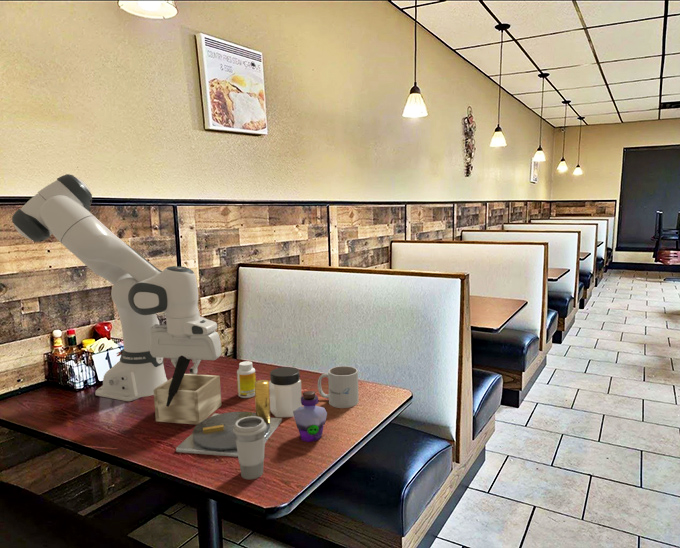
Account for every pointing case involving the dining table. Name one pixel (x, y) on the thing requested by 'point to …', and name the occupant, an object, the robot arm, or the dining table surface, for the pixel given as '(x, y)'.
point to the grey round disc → (232, 422)
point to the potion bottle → (310, 417)
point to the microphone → (177, 377)
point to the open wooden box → (188, 399)
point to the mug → (341, 386)
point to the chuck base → (192, 447)
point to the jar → (285, 391)
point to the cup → (250, 445)
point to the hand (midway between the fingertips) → (186, 373)
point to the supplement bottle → (246, 380)
